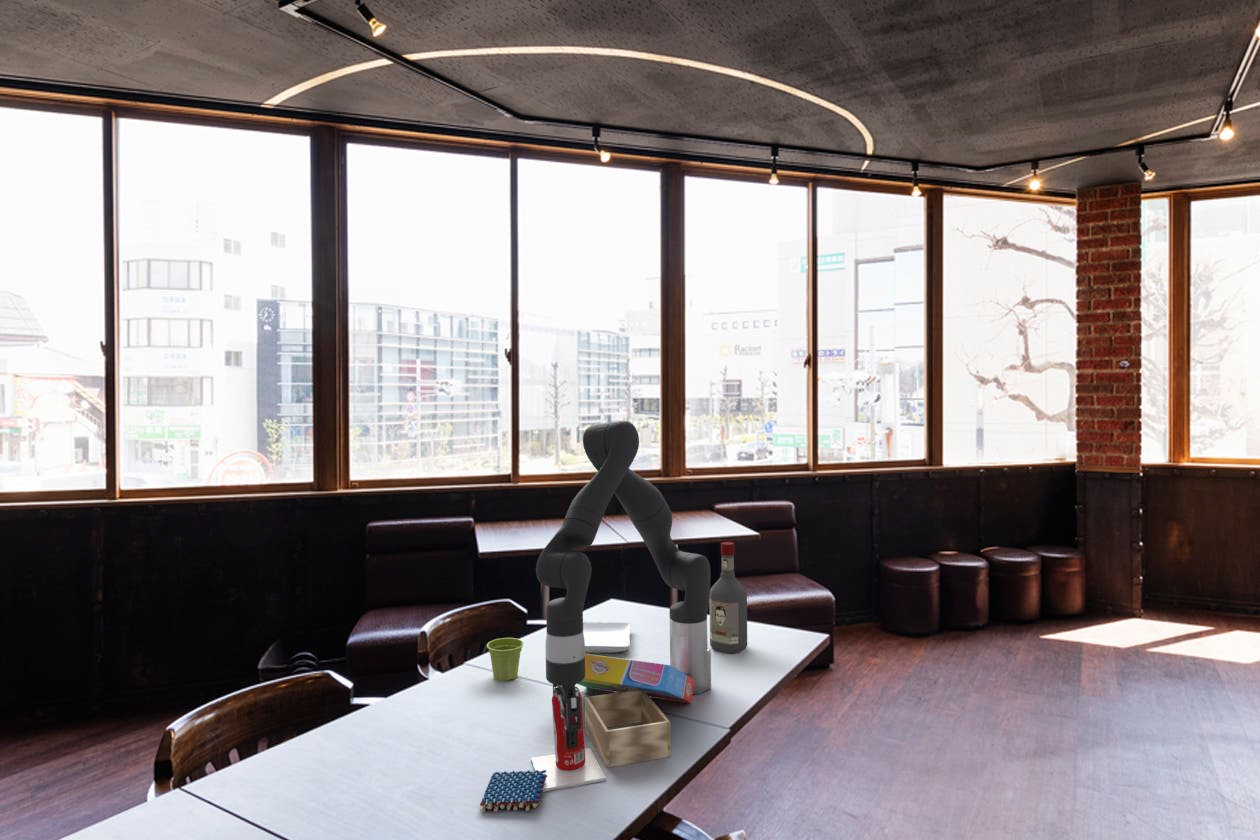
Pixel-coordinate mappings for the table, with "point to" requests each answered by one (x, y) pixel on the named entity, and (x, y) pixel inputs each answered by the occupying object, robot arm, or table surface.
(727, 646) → the liquor
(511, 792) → the woven mat
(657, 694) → the game box
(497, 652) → the plant pot
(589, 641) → the salad plate
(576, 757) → the beverage can
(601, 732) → the crate
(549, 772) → the coaster
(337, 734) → the table surface
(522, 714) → the table surface
